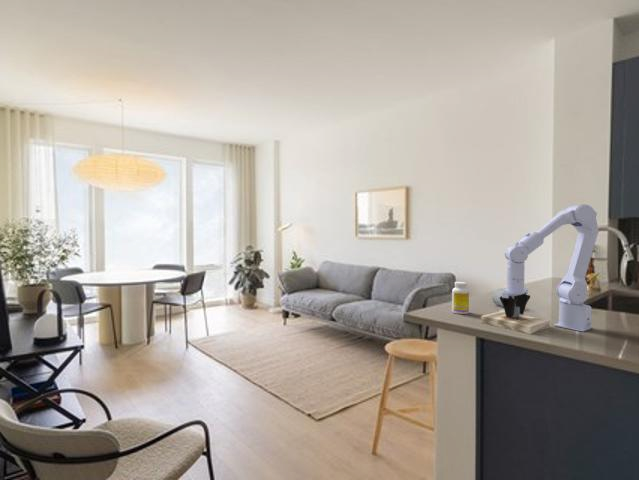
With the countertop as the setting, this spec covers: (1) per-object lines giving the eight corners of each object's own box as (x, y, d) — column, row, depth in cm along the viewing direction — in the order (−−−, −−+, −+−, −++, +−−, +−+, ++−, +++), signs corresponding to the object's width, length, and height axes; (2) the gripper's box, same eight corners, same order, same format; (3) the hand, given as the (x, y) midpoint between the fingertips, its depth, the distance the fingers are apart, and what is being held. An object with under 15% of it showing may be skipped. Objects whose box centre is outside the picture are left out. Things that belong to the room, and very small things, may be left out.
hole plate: (549, 327, 135) (549, 320, 135) (530, 333, 127) (530, 326, 127) (501, 317, 150) (501, 310, 149) (481, 322, 142) (481, 315, 141)
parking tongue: (523, 316, 151) (523, 311, 151) (514, 318, 147) (514, 313, 147) (506, 312, 156) (506, 308, 156) (497, 315, 152) (497, 310, 152)
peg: (521, 325, 138) (521, 306, 137) (515, 326, 136) (516, 307, 136) (512, 323, 141) (512, 304, 140) (506, 324, 139) (506, 305, 139)
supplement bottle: (471, 314, 154) (471, 283, 153) (454, 314, 154) (455, 283, 153) (465, 310, 160) (465, 281, 160) (449, 310, 160) (449, 281, 160)
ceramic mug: (502, 309, 164) (503, 291, 163) (491, 305, 172) (491, 288, 171) (524, 308, 165) (525, 291, 165) (512, 304, 173) (512, 288, 173)
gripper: (515, 275, 145) (514, 310, 145) (494, 279, 137) (493, 315, 137) (533, 278, 139) (533, 314, 140) (513, 281, 131) (512, 319, 131)
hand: (514, 315), depth 138 cm, fingers open, 7 cm apart
